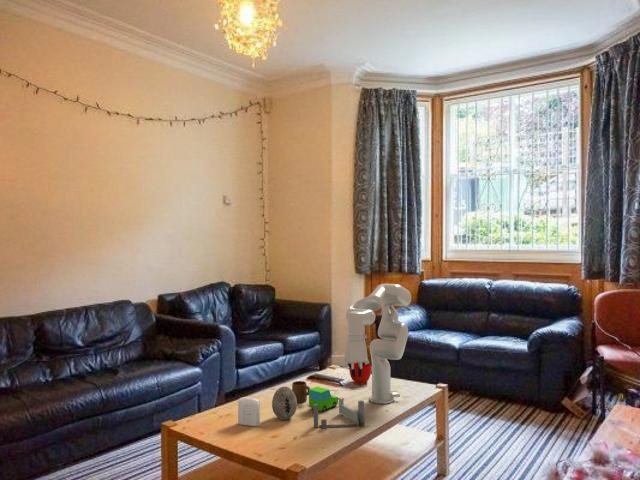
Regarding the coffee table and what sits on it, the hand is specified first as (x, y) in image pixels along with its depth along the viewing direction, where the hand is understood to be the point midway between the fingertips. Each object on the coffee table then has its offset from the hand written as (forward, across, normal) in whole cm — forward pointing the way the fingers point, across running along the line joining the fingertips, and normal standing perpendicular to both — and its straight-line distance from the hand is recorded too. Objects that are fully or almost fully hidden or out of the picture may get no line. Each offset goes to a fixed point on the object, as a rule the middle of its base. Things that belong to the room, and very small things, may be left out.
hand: (356, 376), depth 234 cm
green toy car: (+19, +14, -15) cm, 28 cm away
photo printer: (+19, +50, +2) cm, 54 cm away
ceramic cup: (+19, -12, -52) cm, 57 cm away
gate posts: (+19, +10, +11) cm, 24 cm away
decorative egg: (+19, +34, -3) cm, 39 cm away
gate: (+18, +4, +1) cm, 19 cm away
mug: (+19, +24, -25) cm, 40 cm away
